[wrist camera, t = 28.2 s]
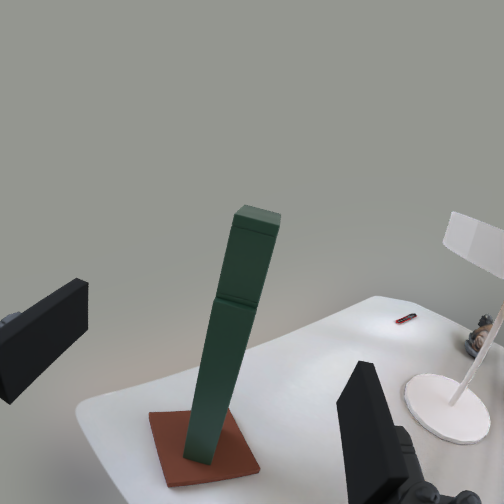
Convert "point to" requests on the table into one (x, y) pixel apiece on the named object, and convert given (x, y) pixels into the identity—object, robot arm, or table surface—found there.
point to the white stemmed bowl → (458, 395)
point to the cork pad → (191, 472)
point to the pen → (406, 318)
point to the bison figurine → (479, 336)
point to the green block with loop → (230, 326)
